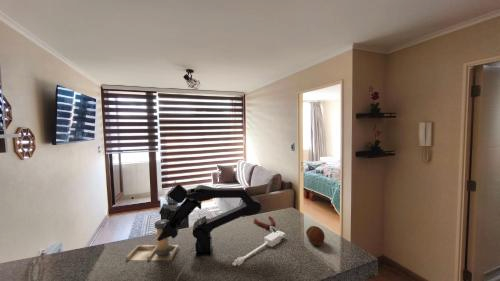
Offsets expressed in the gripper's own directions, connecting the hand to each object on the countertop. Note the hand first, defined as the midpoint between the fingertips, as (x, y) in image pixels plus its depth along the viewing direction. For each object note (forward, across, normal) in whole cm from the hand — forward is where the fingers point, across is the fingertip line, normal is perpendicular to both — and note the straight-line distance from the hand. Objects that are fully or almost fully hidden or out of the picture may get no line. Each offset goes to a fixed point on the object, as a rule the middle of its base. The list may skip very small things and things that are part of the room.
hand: (159, 237), depth 94 cm
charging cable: (-24, +4, +38) cm, 45 cm away
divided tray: (+8, -2, +4) cm, 10 cm away
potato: (-44, +4, +57) cm, 72 cm away
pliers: (-30, -18, +44) cm, 56 cm away
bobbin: (+4, 0, +6) cm, 7 cm away
